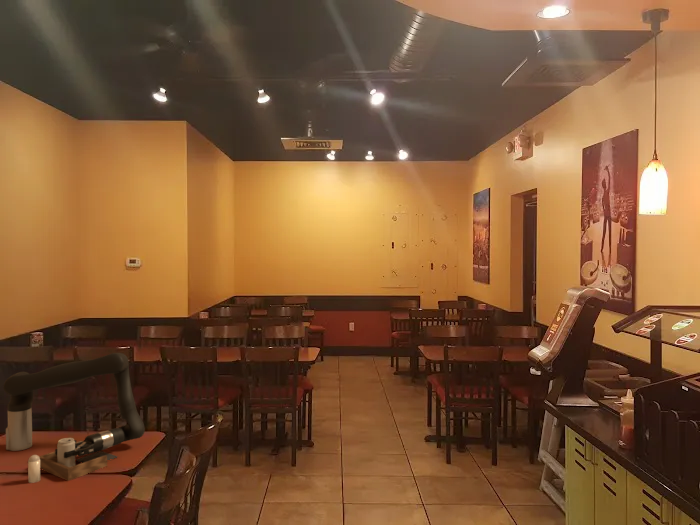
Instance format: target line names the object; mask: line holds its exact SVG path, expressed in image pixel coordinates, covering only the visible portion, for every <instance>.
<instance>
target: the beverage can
mask: <svg viewBox="0 0 700 525" xmlns="http://www.w3.org/2000/svg"><path fill="white" fill-rule="evenodd" d="M74 440H75V439H74V438H73V437H64V438H60V439H59V440H58V442H57V445H56V446H57V447H56V449H57V463H60V464H62V465H65V466H67V467H72V466H75V465H76V461H75V459H76V457H75V456H71V457H68V458H64V452H69V451H72V450H74V449H75V441H74Z"/></svg>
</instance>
